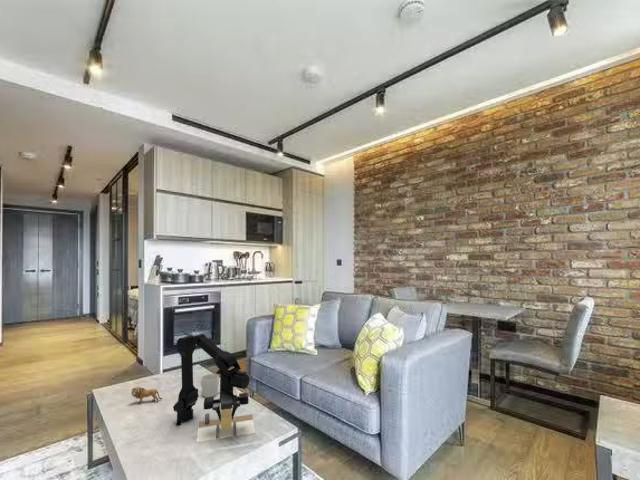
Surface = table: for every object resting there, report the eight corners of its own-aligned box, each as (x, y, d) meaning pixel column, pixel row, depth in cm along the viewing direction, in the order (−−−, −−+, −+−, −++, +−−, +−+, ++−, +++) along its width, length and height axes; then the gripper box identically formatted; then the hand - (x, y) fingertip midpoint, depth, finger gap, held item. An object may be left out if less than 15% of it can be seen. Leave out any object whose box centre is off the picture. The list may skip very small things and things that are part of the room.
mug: (221, 394, 177) (221, 376, 177) (207, 400, 170) (207, 381, 170) (208, 388, 184) (208, 371, 185) (194, 394, 177) (194, 376, 178)
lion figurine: (130, 407, 162) (130, 389, 162) (131, 402, 167) (132, 385, 167) (162, 402, 168) (162, 385, 168) (162, 397, 173) (163, 381, 173)
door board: (196, 444, 130) (196, 432, 131) (199, 424, 146) (199, 412, 146) (254, 435, 137) (255, 423, 137) (252, 416, 153) (252, 405, 153)
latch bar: (221, 419, 142) (221, 409, 142) (231, 417, 143) (231, 407, 143) (220, 428, 134) (220, 418, 134) (231, 427, 135) (231, 416, 136)
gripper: (203, 395, 129) (202, 434, 128) (249, 389, 134) (249, 427, 134) (204, 384, 140) (204, 420, 139) (247, 379, 145) (247, 414, 144)
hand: (226, 420), depth 139 cm, fingers closed on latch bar, 4 cm apart
